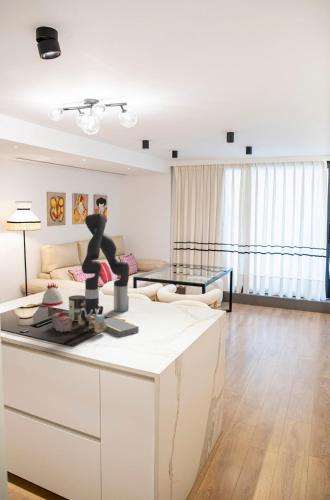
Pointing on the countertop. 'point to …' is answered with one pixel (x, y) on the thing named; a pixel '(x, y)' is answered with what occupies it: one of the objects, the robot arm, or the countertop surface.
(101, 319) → the crate
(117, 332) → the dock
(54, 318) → the food item
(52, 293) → the kitchen timer
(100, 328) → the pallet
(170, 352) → the countertop surface
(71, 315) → the coffee can
